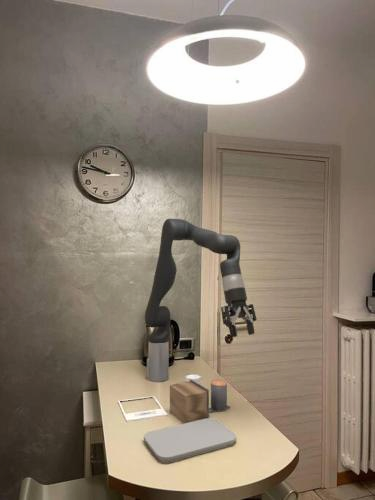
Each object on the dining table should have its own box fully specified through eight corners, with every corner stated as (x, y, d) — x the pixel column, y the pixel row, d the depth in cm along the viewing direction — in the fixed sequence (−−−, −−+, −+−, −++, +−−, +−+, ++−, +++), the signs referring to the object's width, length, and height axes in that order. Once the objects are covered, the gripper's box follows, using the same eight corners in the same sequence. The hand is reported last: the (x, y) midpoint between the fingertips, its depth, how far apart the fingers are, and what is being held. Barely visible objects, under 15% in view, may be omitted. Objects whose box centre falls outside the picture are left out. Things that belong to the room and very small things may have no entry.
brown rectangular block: (218, 400, 145) (218, 373, 146) (237, 412, 135) (237, 383, 135) (169, 412, 135) (169, 383, 135) (186, 426, 124) (186, 394, 124)
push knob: (220, 402, 142) (220, 378, 142) (230, 407, 137) (230, 383, 137) (207, 405, 139) (207, 380, 139) (216, 411, 134) (216, 385, 134)
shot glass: (181, 394, 152) (181, 377, 152) (189, 389, 158) (189, 372, 158) (197, 397, 148) (197, 380, 149) (204, 392, 155) (204, 375, 155)
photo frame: (126, 420, 127) (117, 400, 144) (126, 423, 127) (117, 403, 144) (167, 413, 132) (154, 395, 149) (167, 416, 132) (154, 398, 149)
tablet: (140, 440, 116) (140, 433, 116) (212, 423, 127) (212, 416, 127) (160, 467, 101) (160, 459, 101) (240, 445, 113) (240, 438, 113)
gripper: (240, 291, 137) (249, 335, 133) (212, 291, 128) (220, 339, 124) (255, 286, 132) (265, 332, 127) (227, 286, 123) (236, 336, 118)
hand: (243, 335), depth 126 cm, fingers open, 8 cm apart
